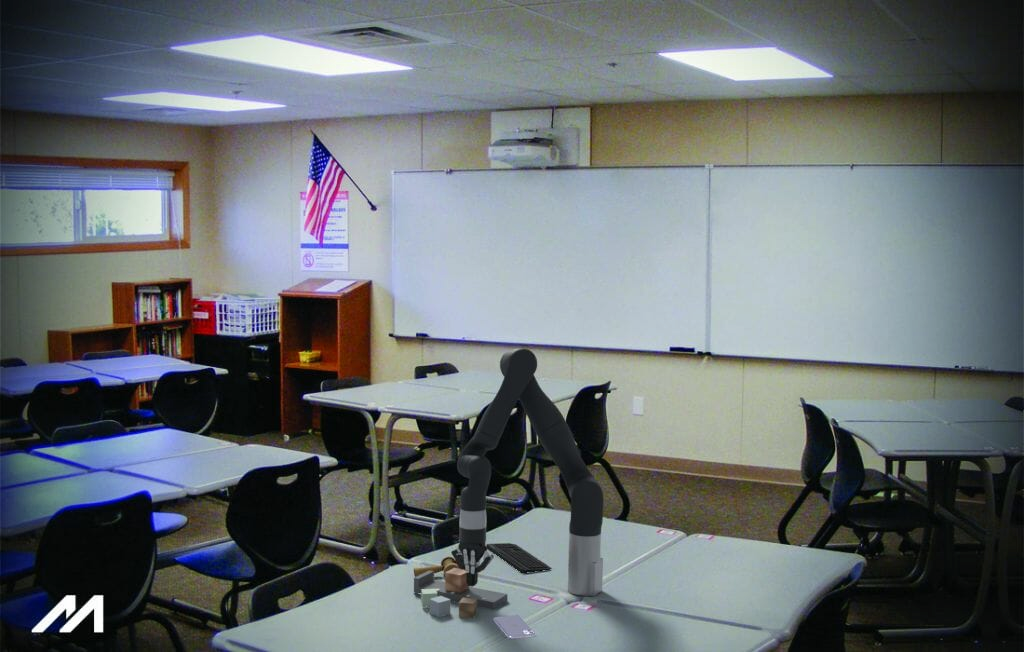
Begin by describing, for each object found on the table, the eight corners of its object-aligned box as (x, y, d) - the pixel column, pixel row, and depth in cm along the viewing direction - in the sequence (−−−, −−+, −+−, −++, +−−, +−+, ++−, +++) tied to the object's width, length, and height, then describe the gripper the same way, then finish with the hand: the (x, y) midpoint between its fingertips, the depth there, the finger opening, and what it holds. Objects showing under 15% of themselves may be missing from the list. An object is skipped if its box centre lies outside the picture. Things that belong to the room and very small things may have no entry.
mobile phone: (519, 613, 266) (537, 633, 252) (519, 617, 266) (537, 637, 252) (492, 616, 264) (509, 636, 249) (491, 619, 264) (508, 640, 249)
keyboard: (554, 571, 307) (554, 565, 307) (522, 575, 302) (522, 569, 302) (515, 546, 334) (515, 540, 334) (485, 549, 329) (485, 543, 329)
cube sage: (435, 602, 276) (435, 588, 275) (437, 607, 272) (437, 593, 271) (421, 603, 275) (421, 589, 274) (422, 608, 271) (422, 593, 271)
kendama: (418, 587, 292) (477, 574, 297) (415, 565, 293) (473, 553, 298) (414, 583, 300) (472, 571, 305) (411, 562, 300) (468, 551, 305)
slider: (469, 587, 281) (469, 570, 281) (460, 592, 277) (460, 575, 277) (454, 584, 284) (454, 567, 284) (445, 589, 279) (445, 572, 279)
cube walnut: (477, 613, 268) (477, 598, 267) (473, 618, 264) (473, 603, 264) (462, 611, 269) (462, 597, 268) (458, 617, 265) (458, 602, 264)
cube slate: (450, 614, 267) (450, 599, 267) (438, 617, 264) (438, 602, 264) (440, 610, 270) (441, 595, 269) (429, 613, 267) (429, 598, 267)
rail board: (507, 601, 278) (507, 585, 277) (493, 609, 271) (493, 593, 270) (428, 585, 290) (429, 570, 289) (413, 593, 283) (414, 577, 282)
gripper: (500, 524, 277) (498, 585, 278) (459, 518, 283) (458, 578, 284) (487, 531, 270) (486, 593, 272) (445, 524, 277) (444, 585, 278)
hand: (471, 585), depth 278 cm, fingers closed
